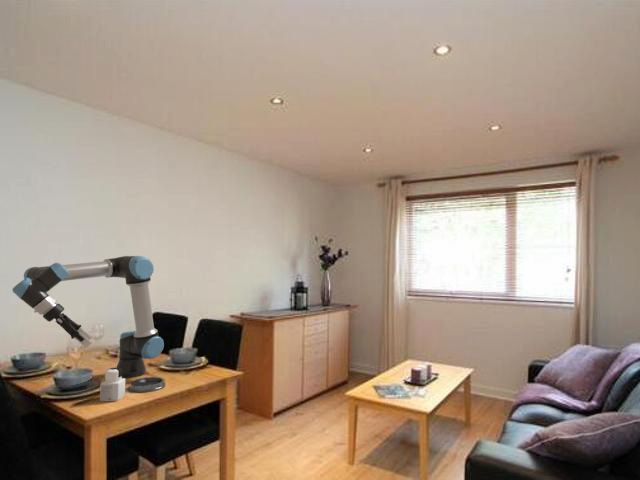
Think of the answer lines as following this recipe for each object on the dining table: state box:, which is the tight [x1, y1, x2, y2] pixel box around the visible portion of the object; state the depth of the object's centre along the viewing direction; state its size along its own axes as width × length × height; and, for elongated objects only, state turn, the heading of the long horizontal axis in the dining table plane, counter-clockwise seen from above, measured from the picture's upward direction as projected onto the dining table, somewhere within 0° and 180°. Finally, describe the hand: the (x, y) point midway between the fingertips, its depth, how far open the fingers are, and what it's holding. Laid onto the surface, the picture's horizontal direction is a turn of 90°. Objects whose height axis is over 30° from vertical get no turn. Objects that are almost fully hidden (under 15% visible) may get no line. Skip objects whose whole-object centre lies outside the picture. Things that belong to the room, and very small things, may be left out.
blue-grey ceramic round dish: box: [129, 376, 166, 393], centre depth 191 cm, size 16×16×3 cm
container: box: [99, 367, 126, 402], centre depth 175 cm, size 8×8×13 cm
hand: (89, 342), depth 170 cm, fingers open, 13 cm apart
